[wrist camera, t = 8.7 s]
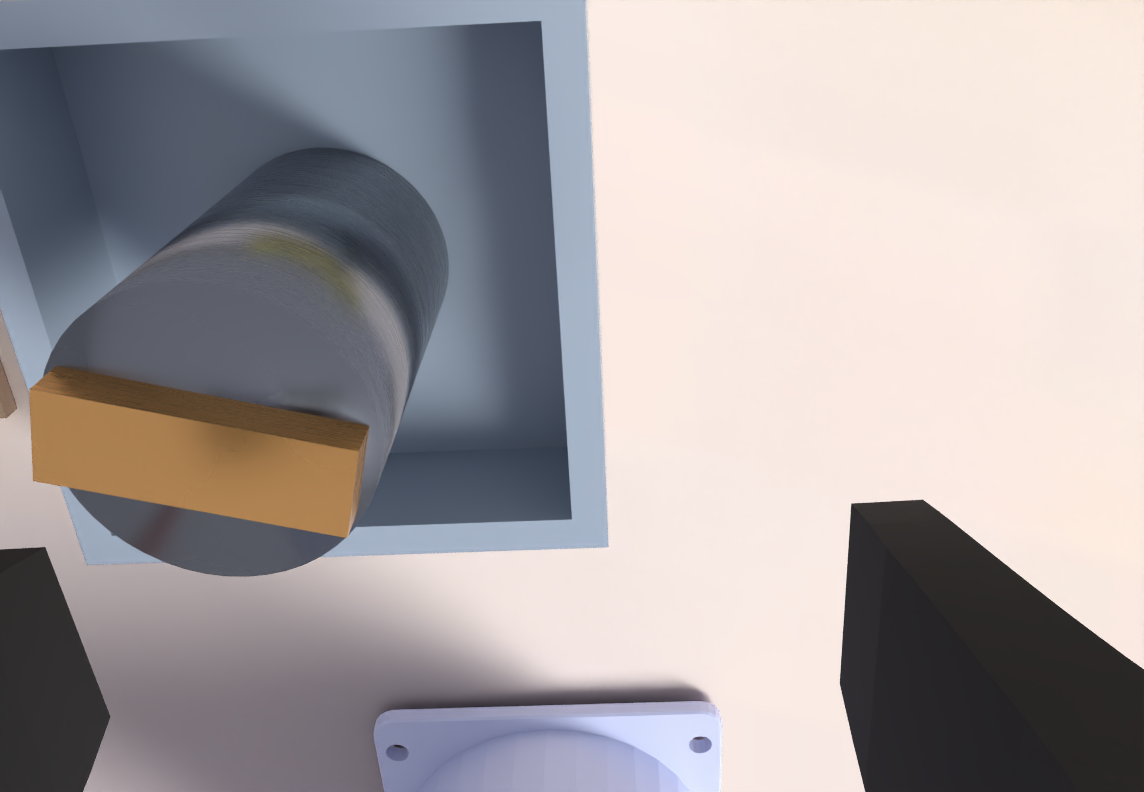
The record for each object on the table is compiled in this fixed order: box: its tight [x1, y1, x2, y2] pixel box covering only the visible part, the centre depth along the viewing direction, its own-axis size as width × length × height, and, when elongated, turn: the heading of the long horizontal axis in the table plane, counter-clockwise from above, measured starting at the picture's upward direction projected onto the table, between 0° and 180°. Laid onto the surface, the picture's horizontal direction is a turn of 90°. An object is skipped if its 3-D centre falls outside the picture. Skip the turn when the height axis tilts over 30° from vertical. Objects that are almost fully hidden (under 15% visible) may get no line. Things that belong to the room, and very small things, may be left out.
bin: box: [0, 0, 608, 565], centre depth 16 cm, size 9×9×3 cm
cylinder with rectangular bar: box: [29, 147, 449, 576], centre depth 14 cm, size 4×4×7 cm
